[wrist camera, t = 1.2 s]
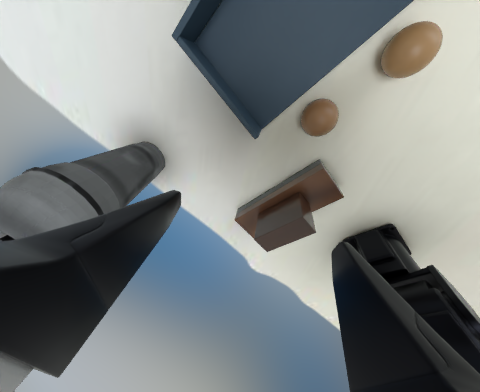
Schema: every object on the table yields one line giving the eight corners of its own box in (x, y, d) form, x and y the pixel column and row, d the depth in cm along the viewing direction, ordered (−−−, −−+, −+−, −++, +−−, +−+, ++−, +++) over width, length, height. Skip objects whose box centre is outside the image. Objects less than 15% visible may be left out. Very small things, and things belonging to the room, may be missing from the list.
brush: (338, 186, 21) (359, 225, 15) (256, 227, 28) (249, 265, 22) (319, 158, 20) (335, 190, 14) (237, 209, 26) (225, 244, 21)
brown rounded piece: (339, 117, 17) (350, 124, 15) (310, 138, 19) (314, 147, 16) (323, 89, 16) (331, 91, 14) (293, 113, 18) (295, 119, 15)
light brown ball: (428, 55, 14) (462, 49, 11) (383, 87, 15) (403, 88, 13) (414, 15, 13) (448, -2, 10) (367, 53, 14) (386, 47, 12)
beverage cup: (139, 181, 27) (-76, 334, 11) (115, 133, 23) (-277, 258, 7) (181, 180, 25) (-2, 360, 9) (162, 128, 21) (-214, 277, 5)
